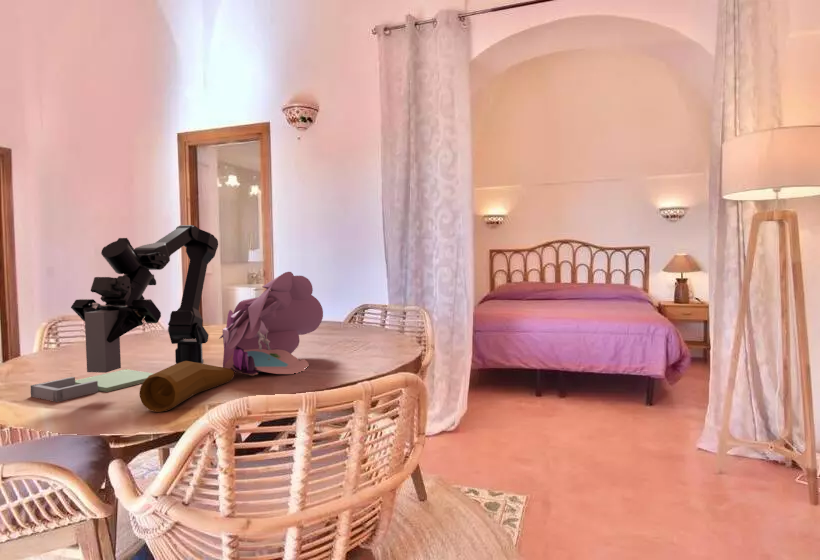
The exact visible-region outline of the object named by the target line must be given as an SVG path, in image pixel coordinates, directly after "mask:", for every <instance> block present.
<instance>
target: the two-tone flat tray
mask: <svg viewBox="0 0 820 560" xmlns="http://www.w3.org/2000/svg"><path fill="white" fill-rule="evenodd" d="M154 373H155V372H148V371H140V370H135V369H134V370H133V369H125V368H124V369H121V370H120V369H119V370H116V371H110V372H107V373H102V374H98V375H93V376H90V377H85V378H79V379H76V377H75V376H69V377H64V378H59V379H55V380H51V381H46V382H41V383H36V384H31V385H30V397H31V398H34V399H35V398H36V399H40V398H41V399H40V400H45V399H46V400H45V401H49V400H51V401H50V402H54V401H55V402H54V403H58V401H59V402H62V401H67V400H71V399H74V398H79V397H83V396H88V395H91V394H95V393H98V392H104V393H106V392H107V393H109V392H112V391H115V390H121V389H125V388H129V387H131V386H132V387H133V386H136V385H140V384H141V385H142V384H143V382H144V381H145V380H146V379H147V378H148V377H149V376H150V375H152V374H154Z"/></svg>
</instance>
